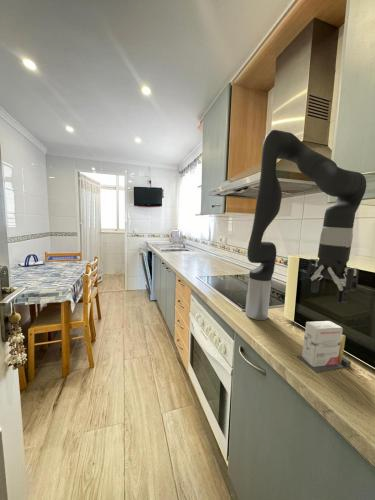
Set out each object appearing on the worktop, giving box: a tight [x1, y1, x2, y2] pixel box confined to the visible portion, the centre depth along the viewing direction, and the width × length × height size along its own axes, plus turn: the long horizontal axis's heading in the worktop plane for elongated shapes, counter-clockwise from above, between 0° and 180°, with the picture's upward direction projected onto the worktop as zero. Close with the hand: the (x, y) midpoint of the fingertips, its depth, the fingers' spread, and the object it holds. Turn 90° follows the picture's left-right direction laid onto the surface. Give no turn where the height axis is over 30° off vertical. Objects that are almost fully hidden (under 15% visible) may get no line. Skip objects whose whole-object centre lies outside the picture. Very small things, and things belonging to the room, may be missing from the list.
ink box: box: [301, 320, 344, 367], centre depth 62 cm, size 9×5×12 cm, turn 100°
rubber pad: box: [297, 354, 344, 373], centre depth 63 cm, size 7×10×1 cm
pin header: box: [337, 334, 352, 368], centre depth 64 cm, size 7×3×9 cm, turn 15°
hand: (326, 297), depth 62 cm, fingers open, 8 cm apart
